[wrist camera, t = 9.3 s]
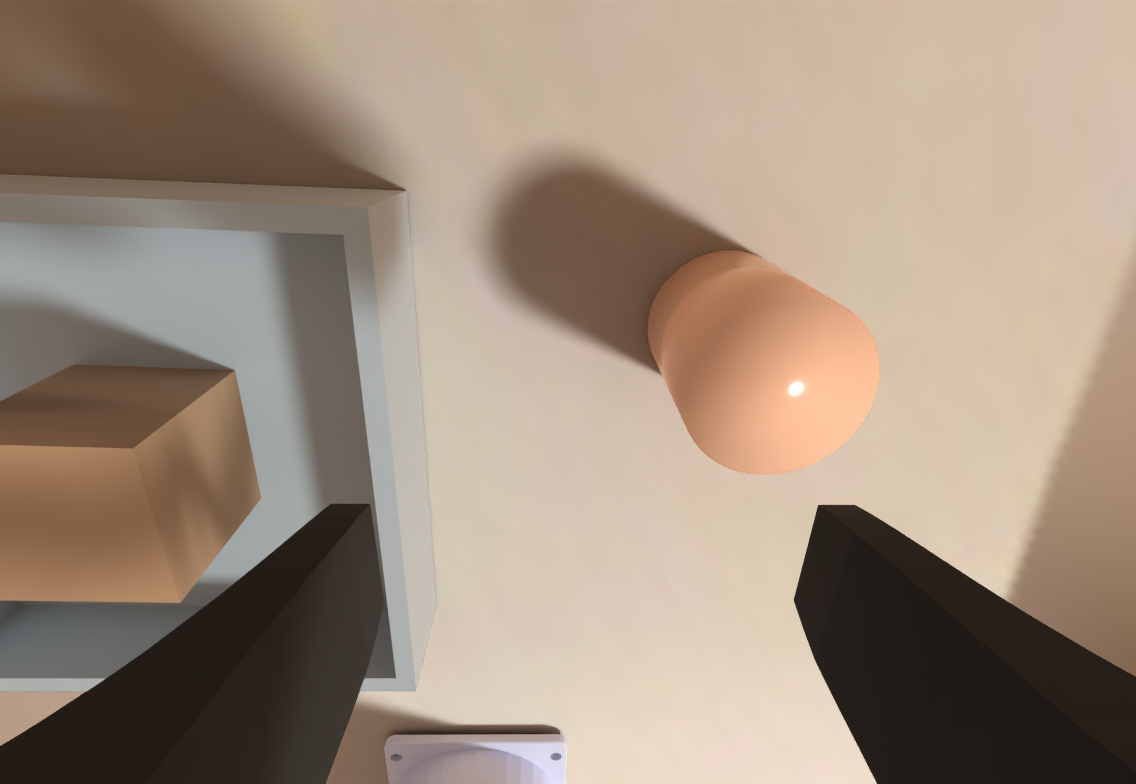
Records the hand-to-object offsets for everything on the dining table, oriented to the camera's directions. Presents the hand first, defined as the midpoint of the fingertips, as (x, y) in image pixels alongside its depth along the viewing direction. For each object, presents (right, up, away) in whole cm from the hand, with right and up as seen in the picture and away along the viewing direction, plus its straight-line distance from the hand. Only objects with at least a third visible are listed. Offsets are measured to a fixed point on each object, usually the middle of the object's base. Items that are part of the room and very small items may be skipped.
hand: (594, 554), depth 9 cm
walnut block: (-13, +1, +8) cm, 15 cm away
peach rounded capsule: (+4, +5, +8) cm, 11 cm away
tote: (-13, +2, +9) cm, 16 cm away
